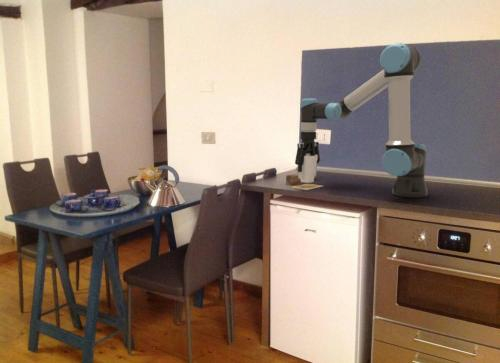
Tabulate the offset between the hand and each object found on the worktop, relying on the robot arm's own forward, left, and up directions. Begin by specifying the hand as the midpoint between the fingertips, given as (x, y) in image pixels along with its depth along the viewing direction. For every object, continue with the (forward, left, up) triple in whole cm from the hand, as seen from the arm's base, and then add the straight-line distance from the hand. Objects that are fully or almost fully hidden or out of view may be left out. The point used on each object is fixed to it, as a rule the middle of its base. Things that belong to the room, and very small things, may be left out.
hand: (307, 177), depth 226 cm
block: (+9, 0, -5) cm, 10 cm away
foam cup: (0, 0, -2) cm, 2 cm away
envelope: (0, 0, -5) cm, 5 cm away
